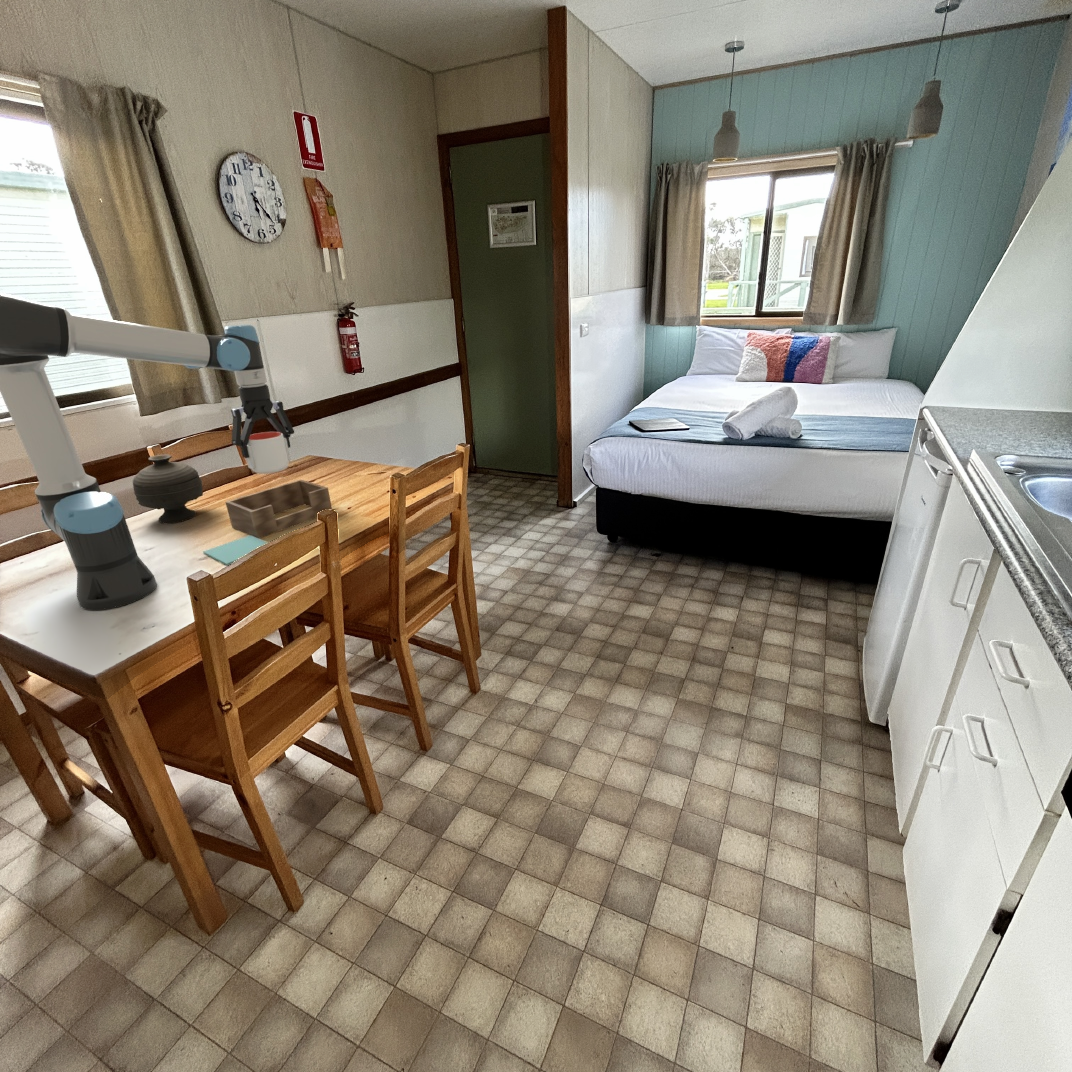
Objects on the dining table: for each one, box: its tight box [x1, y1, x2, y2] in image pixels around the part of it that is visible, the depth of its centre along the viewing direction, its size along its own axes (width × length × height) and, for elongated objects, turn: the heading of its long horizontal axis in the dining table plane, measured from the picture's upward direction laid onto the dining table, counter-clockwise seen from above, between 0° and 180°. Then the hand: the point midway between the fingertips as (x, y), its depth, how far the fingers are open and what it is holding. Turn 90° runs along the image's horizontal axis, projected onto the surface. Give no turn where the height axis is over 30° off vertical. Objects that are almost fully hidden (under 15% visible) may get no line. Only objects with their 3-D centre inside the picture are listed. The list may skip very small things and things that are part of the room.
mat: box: [202, 535, 269, 566], centre depth 156 cm, size 13×13×1 cm
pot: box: [132, 453, 204, 524], centre depth 178 cm, size 18×18×20 cm
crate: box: [224, 479, 333, 539], centre depth 174 cm, size 24×15×8 cm, turn 142°
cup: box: [247, 431, 290, 475], centre depth 167 cm, size 10×10×10 cm
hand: (269, 463), depth 169 cm, fingers closed on cup, 10 cm apart
